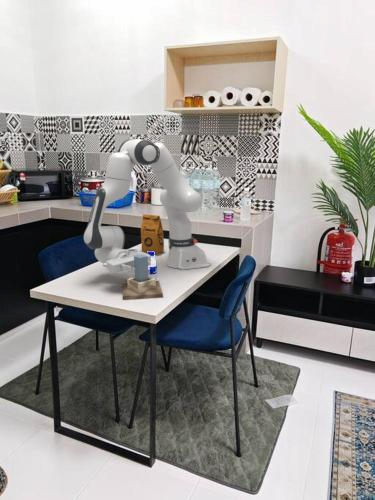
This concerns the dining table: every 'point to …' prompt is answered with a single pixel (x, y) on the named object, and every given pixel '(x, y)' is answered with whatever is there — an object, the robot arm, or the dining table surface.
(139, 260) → the slate peg
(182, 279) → the dining table surface
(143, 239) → the coffee package
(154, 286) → the socket board
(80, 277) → the dining table surface
